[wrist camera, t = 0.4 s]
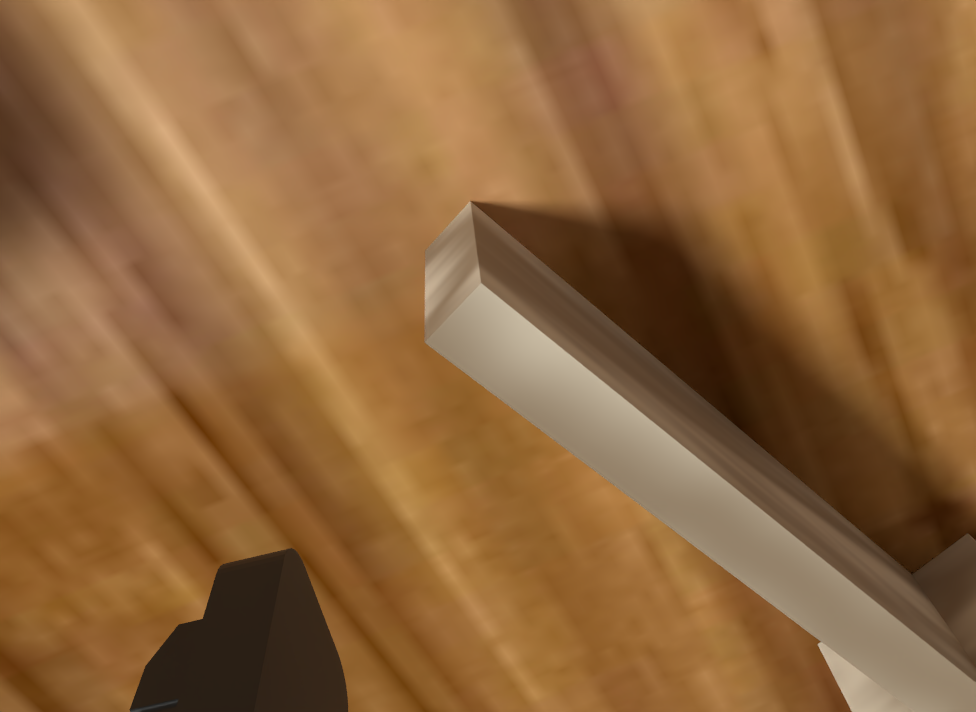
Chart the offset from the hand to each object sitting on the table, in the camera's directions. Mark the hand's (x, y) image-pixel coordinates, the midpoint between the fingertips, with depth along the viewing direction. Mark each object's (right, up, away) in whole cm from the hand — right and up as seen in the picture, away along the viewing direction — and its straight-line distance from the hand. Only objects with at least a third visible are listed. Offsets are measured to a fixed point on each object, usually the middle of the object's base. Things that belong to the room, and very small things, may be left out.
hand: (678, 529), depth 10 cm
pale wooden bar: (+6, -1, +21) cm, 22 cm away
